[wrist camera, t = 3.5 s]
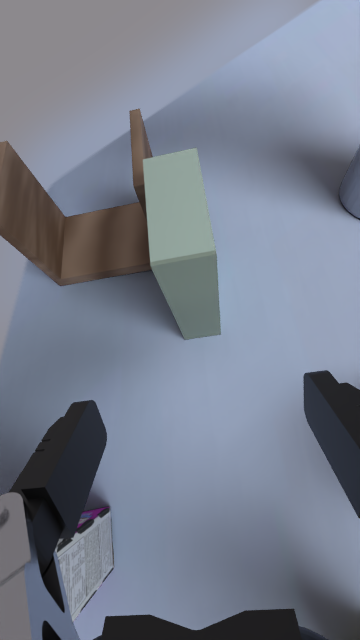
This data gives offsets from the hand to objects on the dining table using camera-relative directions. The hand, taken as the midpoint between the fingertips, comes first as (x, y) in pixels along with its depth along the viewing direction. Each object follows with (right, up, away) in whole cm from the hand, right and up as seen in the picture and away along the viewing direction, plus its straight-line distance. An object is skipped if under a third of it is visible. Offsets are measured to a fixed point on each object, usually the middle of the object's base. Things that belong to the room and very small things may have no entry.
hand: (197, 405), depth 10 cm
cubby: (-9, +13, +26) cm, 31 cm away
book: (+1, +6, +21) cm, 22 cm away
